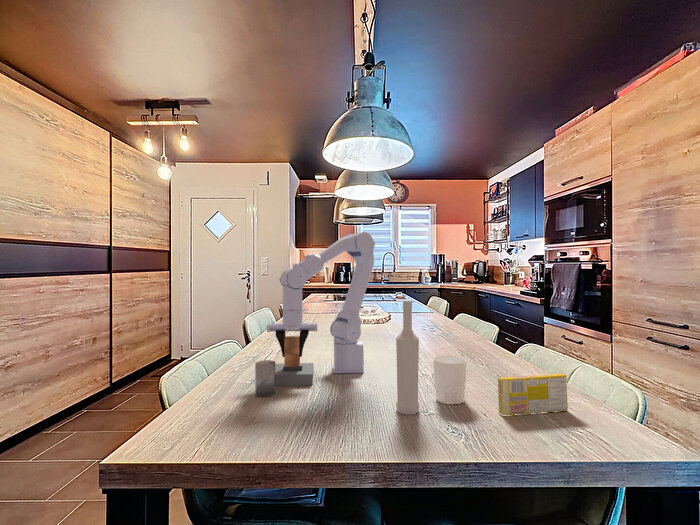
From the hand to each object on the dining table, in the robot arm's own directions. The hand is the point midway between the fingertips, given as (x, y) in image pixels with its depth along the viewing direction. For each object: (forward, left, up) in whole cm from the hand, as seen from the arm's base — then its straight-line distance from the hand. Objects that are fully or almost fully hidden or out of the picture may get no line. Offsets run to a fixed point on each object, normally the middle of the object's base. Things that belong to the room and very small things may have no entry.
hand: (292, 356), depth 107 cm
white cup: (-40, +20, -7) cm, 45 cm away
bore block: (0, 0, -7) cm, 7 cm away
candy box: (-56, +29, -7) cm, 63 cm away
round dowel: (+6, +12, -7) cm, 15 cm away
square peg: (0, 0, -2) cm, 3 cm away
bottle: (-28, +26, -7) cm, 39 cm away
